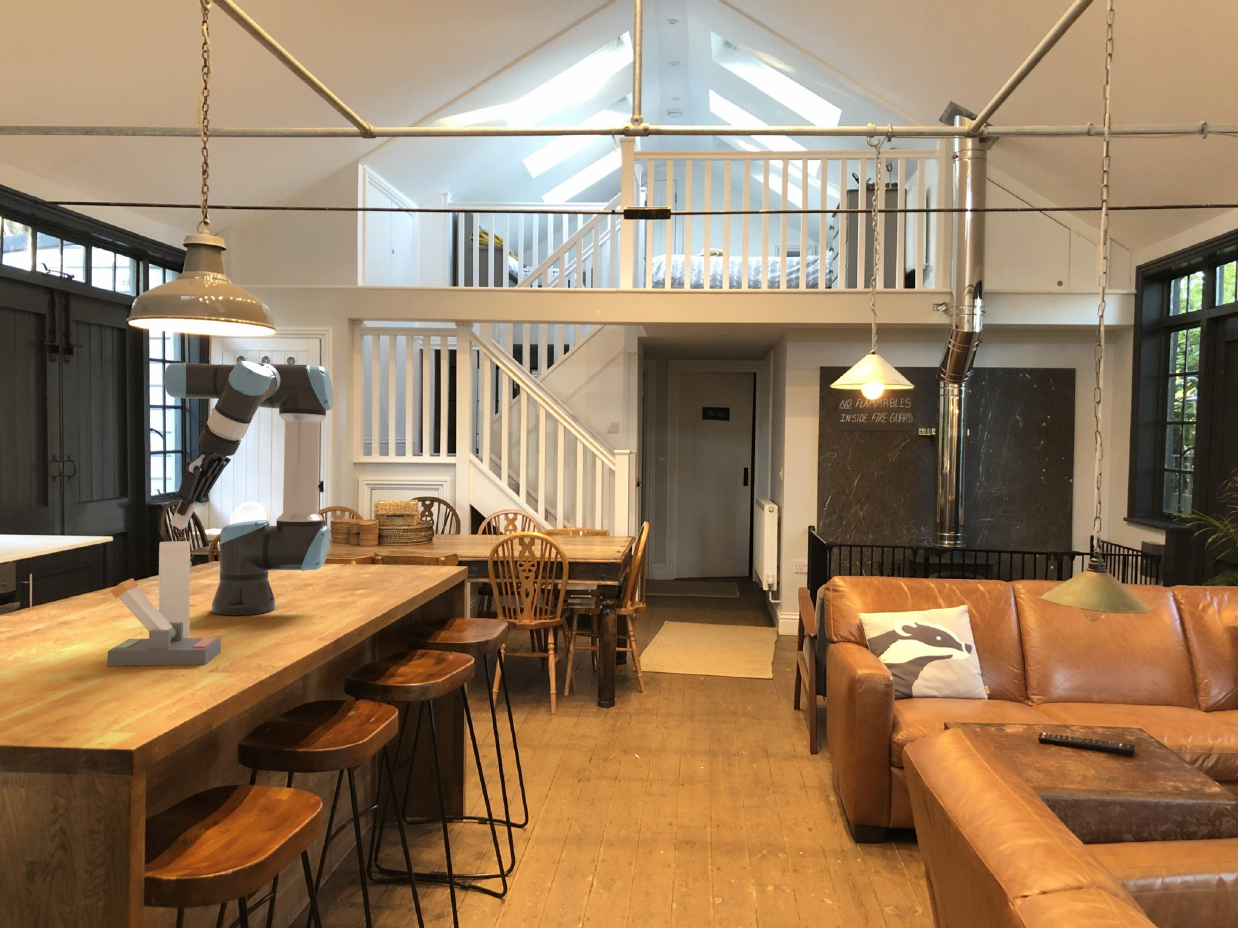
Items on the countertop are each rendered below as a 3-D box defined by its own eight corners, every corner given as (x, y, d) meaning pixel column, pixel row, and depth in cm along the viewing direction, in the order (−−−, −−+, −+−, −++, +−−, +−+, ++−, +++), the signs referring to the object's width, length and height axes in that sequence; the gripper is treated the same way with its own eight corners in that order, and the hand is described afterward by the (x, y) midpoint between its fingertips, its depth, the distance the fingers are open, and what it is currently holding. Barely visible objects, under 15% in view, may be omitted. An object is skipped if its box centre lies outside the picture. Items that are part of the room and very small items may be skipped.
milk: (189, 642, 185) (191, 542, 184) (158, 644, 182) (159, 543, 181) (188, 635, 190) (189, 539, 189) (157, 638, 187) (159, 540, 186)
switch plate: (220, 651, 177) (221, 620, 177) (205, 664, 167) (205, 631, 167) (128, 653, 174) (129, 621, 174) (107, 665, 164) (107, 632, 164)
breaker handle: (180, 632, 173) (132, 578, 172) (170, 638, 168) (120, 582, 166) (170, 640, 173) (121, 586, 171) (159, 647, 168) (109, 591, 166)
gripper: (226, 419, 181) (181, 510, 185) (190, 425, 168) (142, 523, 172) (255, 437, 181) (210, 527, 185) (222, 445, 168) (173, 542, 172)
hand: (177, 525), depth 178 cm, fingers closed
